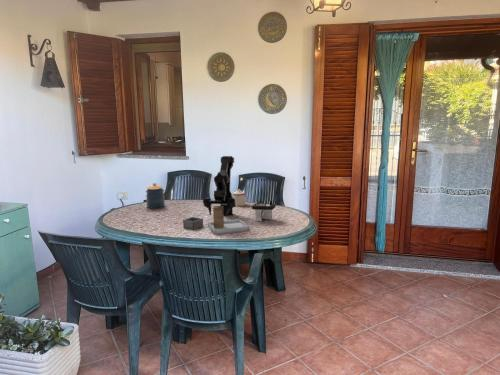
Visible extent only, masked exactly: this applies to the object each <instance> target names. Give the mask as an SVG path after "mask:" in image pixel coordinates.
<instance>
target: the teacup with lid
mask: <svg viewBox="0 0 500 375" xmlns="http://www.w3.org/2000/svg"><path fill="white" fill-rule="evenodd" d="M232 197H233V198H234V199H235V201H236V207H243V206H245V205H246V193H245V191H243V190H241V189H240V188H238V189H237V190H235V191H234V192H232Z"/></svg>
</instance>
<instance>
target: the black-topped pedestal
mask: <svg viewBox="0 0 500 375" xmlns="http://www.w3.org/2000/svg"><path fill="white" fill-rule="evenodd" d="M276 205H277V204H276V203H273V199H271V200H269V202H266V201H265V200H262V201H261V200H256V202H255V203H254V204H253V205H251V210H255V212H254V214H255V215H254V216H255V222H263V219H264V220H273V210H275V209H276V207H277V206H276Z"/></svg>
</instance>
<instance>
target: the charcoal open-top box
mask: <svg viewBox="0 0 500 375" xmlns="http://www.w3.org/2000/svg"><path fill="white" fill-rule="evenodd" d="M182 223H183V224H182V227H183V228H184V229H191V230H196V229H198V228H202V227H204V219H203V218H202V217H196V216H195V217H194V216H192V217H189V218H185V219H183V220H182Z"/></svg>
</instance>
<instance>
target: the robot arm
mask: <svg viewBox="0 0 500 375" xmlns="http://www.w3.org/2000/svg"><path fill="white" fill-rule="evenodd" d="M234 163H235V157H233V156H232V155H223V156H221V157H220V164H221V165H220V168H219V171H218V172H217V174H216V175H215V176H214V177H213V181H214V184H215V187H216V188H215V190H213V200H211V198H210V197H204V198H203V199H202V202H203V203H202V204H203V206H204V207H205V208H206V209H208V214H209V216H211V215H212V205H219V206H223V215H224V216H225V217H226V216H233V215H234V212H233V209H234V208H236V207H237V206H236V201H235V199H234V198H233V196H232V195H233V193H232V192H231V171H232V168H234V167H233V166H234Z"/></svg>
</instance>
